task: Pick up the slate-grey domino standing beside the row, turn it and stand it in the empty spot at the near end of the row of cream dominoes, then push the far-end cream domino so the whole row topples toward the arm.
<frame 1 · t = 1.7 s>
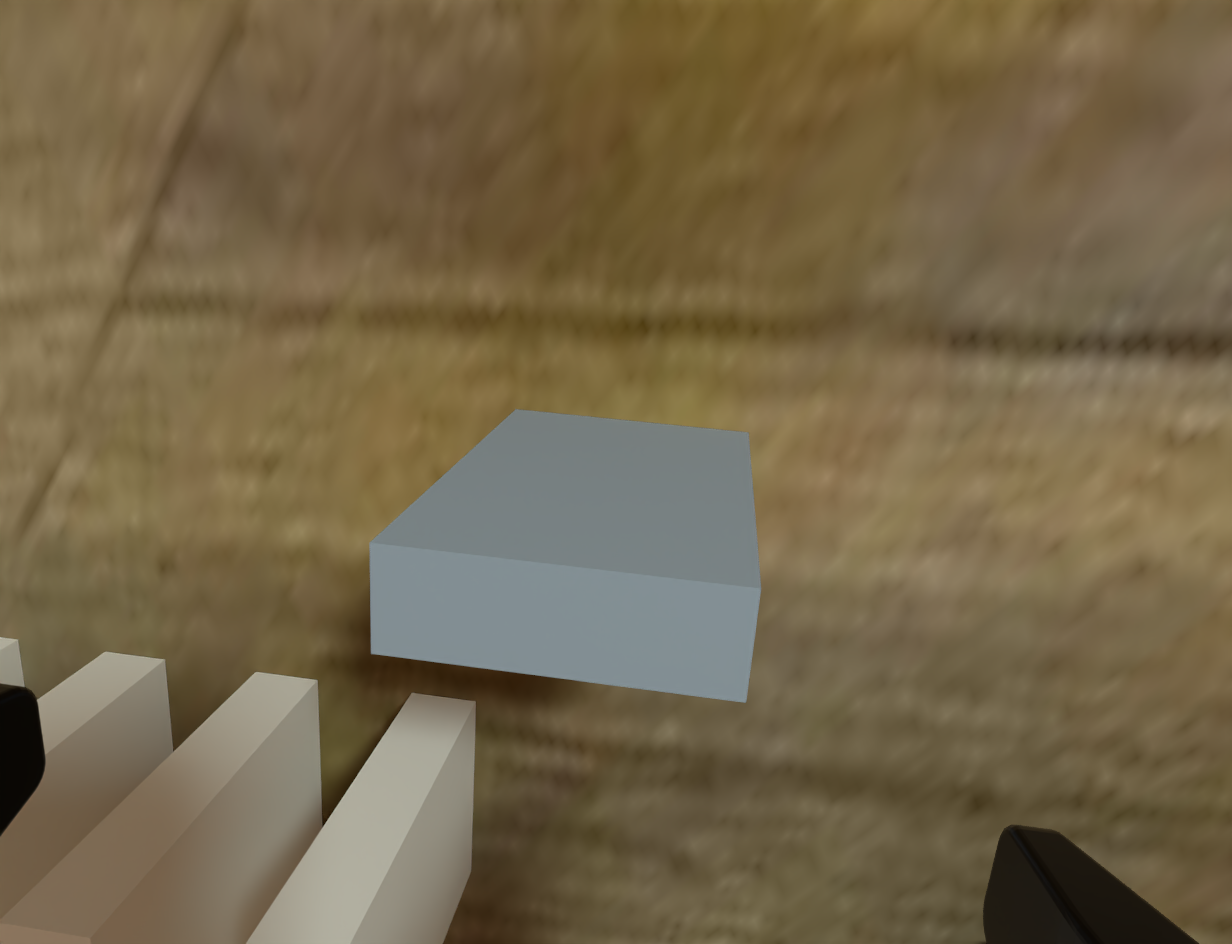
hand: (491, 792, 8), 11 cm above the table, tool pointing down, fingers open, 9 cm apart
domino 1: (2, 720, 23), on the table
domino 4: (442, 784, 22), on the table
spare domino: (627, 456, 19), on the table
domino 3: (290, 762, 22), on the table
domino 2: (143, 741, 23), on the table
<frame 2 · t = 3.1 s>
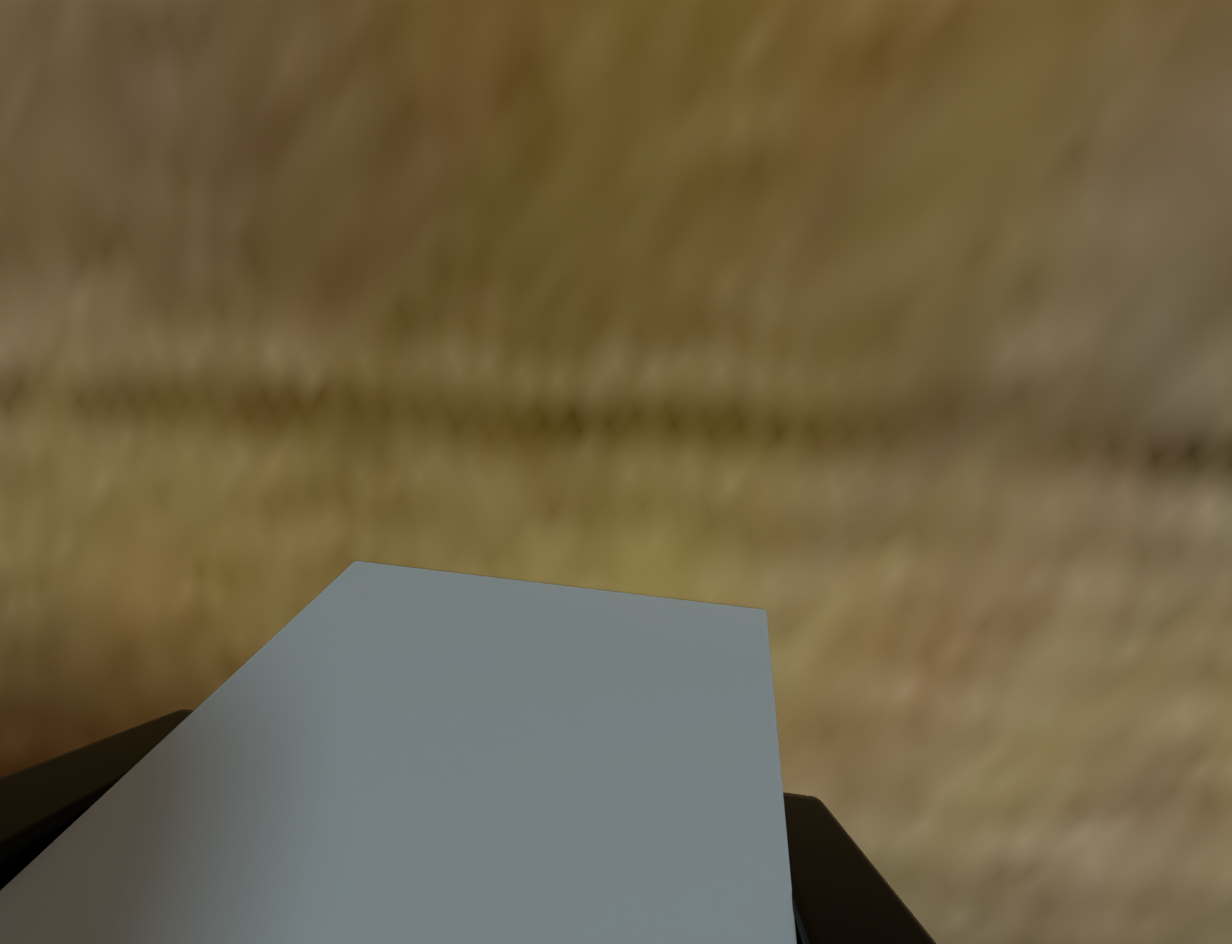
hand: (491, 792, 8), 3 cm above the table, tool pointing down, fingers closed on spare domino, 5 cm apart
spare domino: (552, 644, 11), on the table, touching gripper
when the fingers open (4 cm above the table, at t = 8.2 s): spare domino stays where it is, on the table.
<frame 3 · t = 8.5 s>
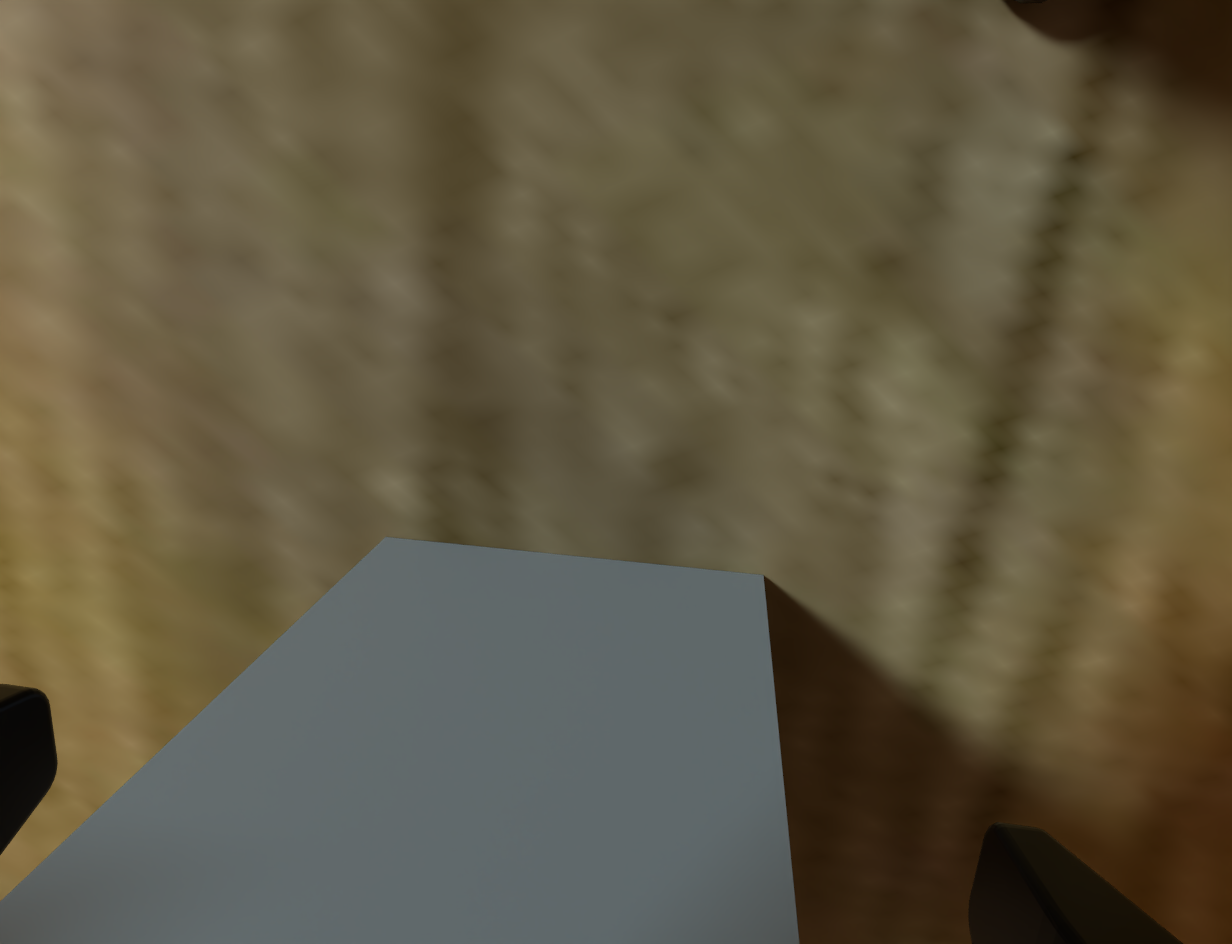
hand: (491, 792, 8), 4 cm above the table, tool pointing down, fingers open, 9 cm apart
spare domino: (567, 611, 12), on the table
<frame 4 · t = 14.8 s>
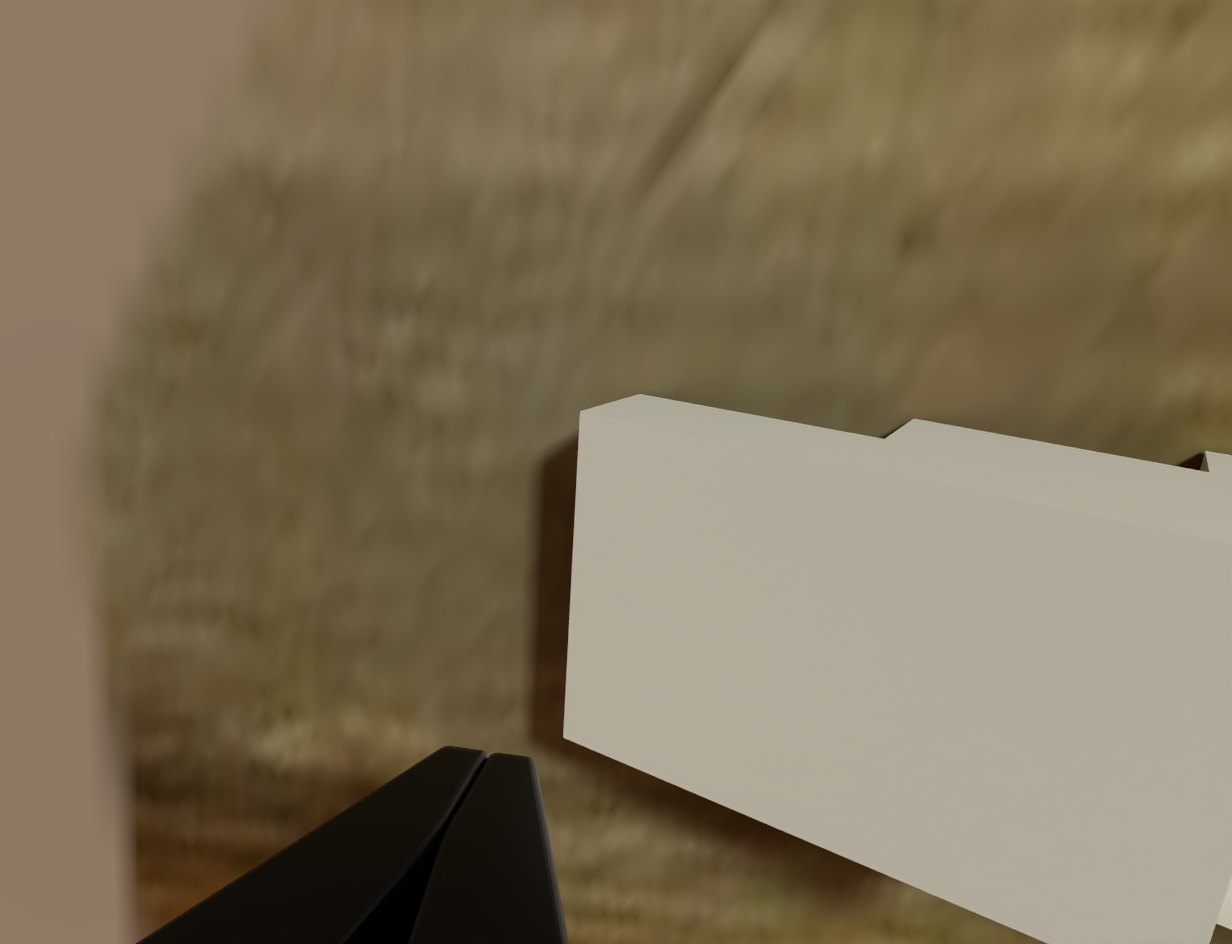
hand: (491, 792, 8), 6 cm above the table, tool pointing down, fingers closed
domino 1: (601, 566, 13), point 1 cm above the table, tilted 66°, touching domino 2
domino 3: (1158, 633, 12), point 1 cm above the table, tilted 66°, touching domino 2, domino 4
domino 2: (870, 596, 13), point 1 cm above the table, tilted 66°, touching domino 1, domino 3
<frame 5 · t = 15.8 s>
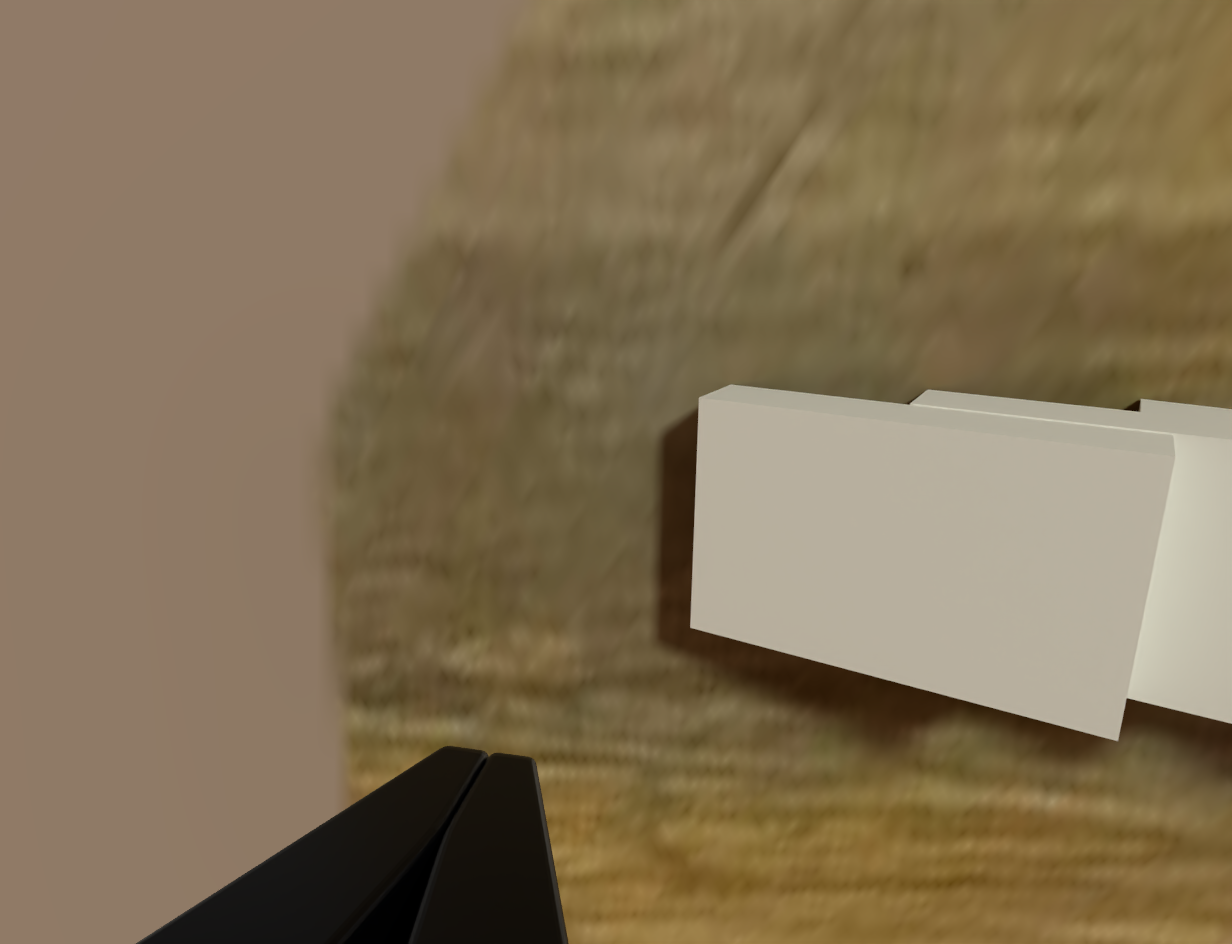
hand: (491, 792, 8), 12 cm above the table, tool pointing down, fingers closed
domino 1: (710, 506, 18), point 1 cm above the table, tilted 66°, touching domino 2
domino 3: (1115, 526, 18), point 1 cm above the table, tilted 66°, touching domino 2, domino 4
domino 2: (905, 514, 18), point 1 cm above the table, tilted 66°, touching domino 1, domino 3
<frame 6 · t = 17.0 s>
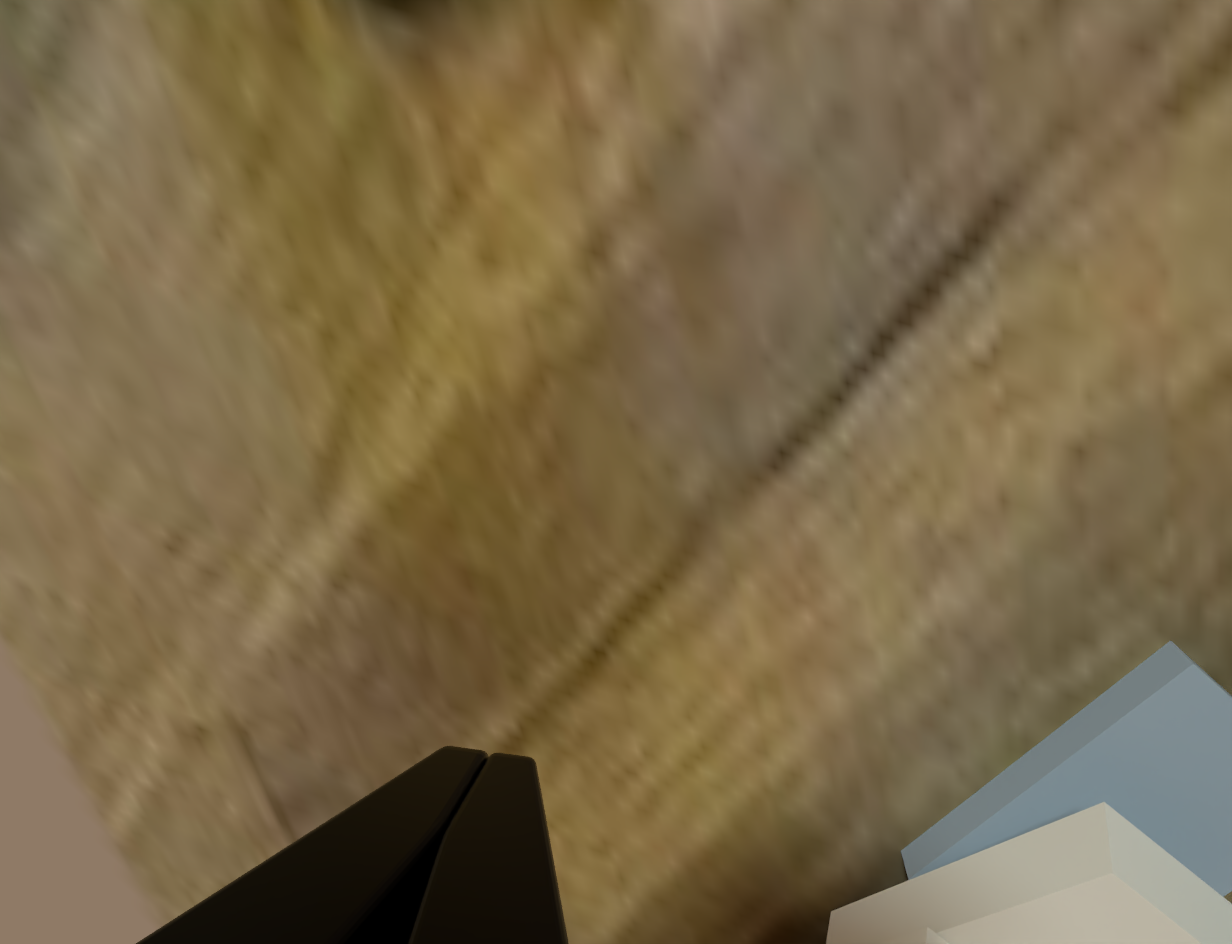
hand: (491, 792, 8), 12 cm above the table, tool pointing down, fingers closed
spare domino: (975, 916, 22), on the table, tilted 90°, touching domino 4
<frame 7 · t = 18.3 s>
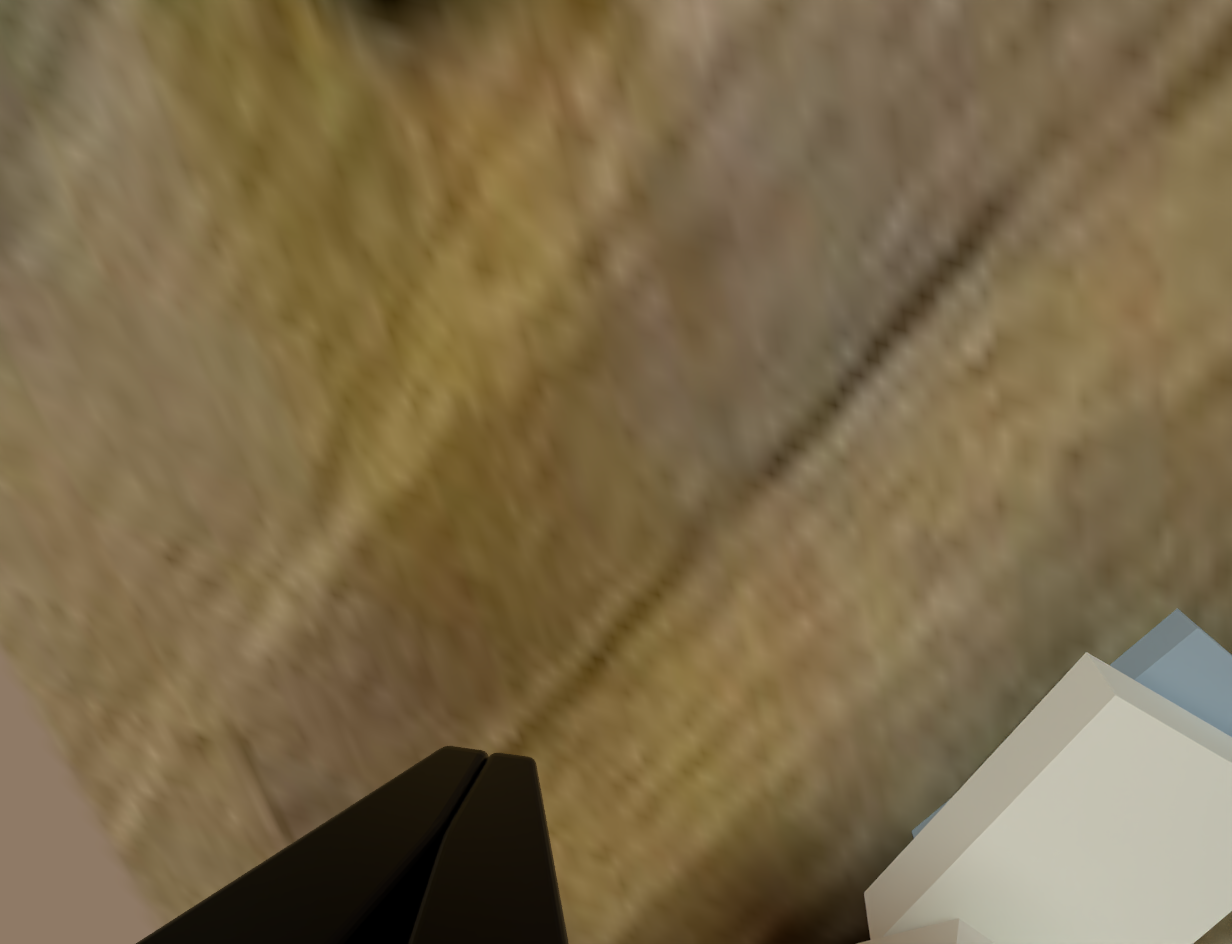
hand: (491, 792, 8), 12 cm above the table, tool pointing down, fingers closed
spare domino: (988, 893, 21), on the table, tilted 90°, touching domino 4
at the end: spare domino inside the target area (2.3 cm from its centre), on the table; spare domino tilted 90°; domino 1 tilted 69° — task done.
